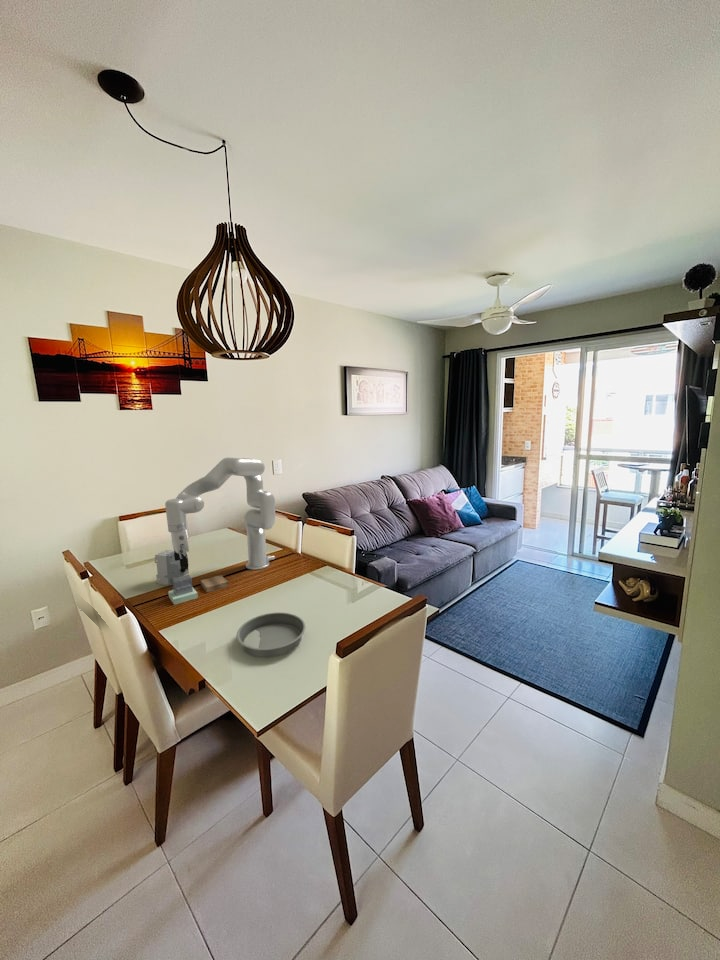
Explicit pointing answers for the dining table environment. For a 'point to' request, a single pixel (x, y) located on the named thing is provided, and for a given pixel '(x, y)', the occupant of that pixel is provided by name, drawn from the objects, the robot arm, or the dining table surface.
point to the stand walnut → (214, 583)
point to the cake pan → (273, 634)
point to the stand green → (182, 596)
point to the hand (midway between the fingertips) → (181, 563)
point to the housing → (182, 585)
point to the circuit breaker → (168, 567)
